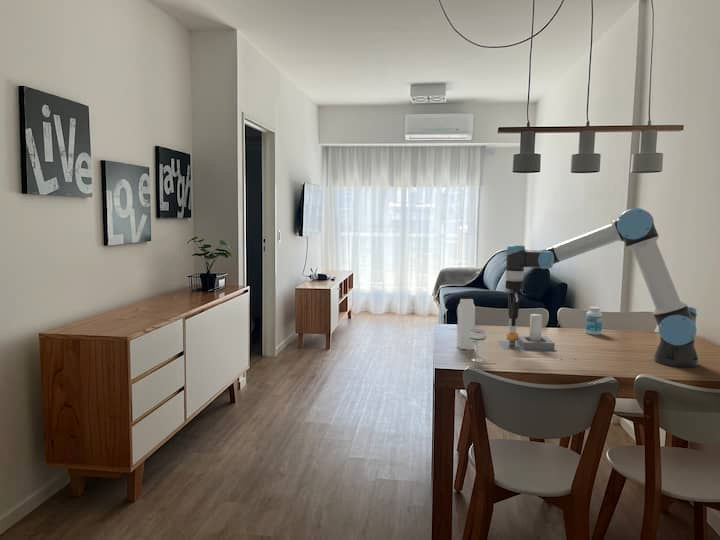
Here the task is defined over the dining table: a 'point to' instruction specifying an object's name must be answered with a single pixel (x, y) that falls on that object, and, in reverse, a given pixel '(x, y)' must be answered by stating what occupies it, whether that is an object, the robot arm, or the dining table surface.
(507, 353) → the dining table surface
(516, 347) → the housing
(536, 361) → the dining table surface
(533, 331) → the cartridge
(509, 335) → the orange rounded knob
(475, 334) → the wineglass
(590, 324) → the pill bottle
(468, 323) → the milk
